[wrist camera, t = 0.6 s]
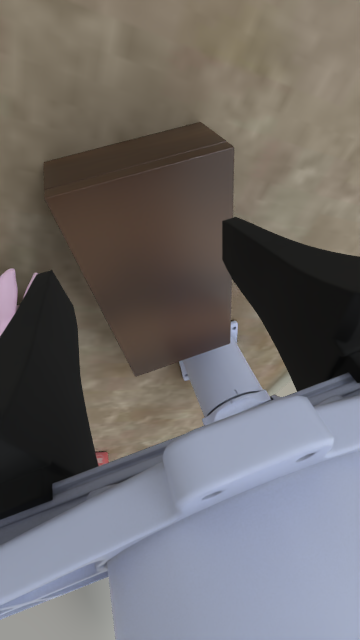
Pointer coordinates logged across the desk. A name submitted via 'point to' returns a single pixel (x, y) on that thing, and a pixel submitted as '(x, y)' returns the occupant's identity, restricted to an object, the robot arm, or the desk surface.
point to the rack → (152, 239)
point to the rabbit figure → (9, 297)
